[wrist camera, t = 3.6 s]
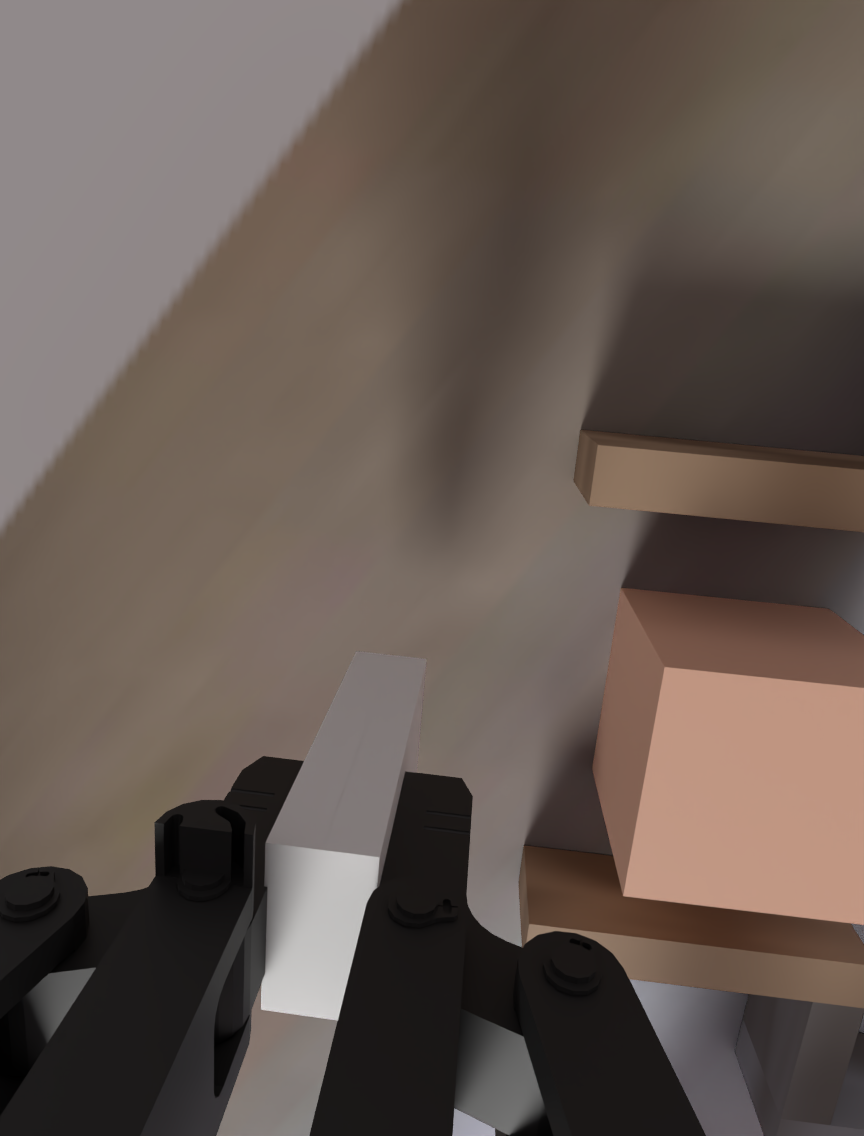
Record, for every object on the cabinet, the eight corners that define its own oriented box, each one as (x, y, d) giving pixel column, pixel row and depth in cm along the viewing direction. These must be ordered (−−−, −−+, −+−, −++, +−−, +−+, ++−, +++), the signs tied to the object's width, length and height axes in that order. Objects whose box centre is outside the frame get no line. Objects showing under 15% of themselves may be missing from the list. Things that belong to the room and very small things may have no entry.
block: (591, 767, 20) (623, 896, 16) (620, 586, 19) (664, 666, 14) (784, 788, 20) (876, 926, 15) (827, 607, 19) (944, 696, 14)
